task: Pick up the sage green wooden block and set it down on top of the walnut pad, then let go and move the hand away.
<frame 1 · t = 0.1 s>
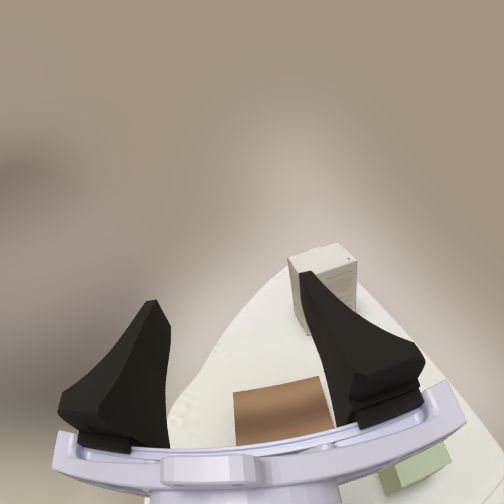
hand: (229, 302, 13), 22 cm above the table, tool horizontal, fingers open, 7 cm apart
walnut pad: (284, 431, 26), on the table
small box: (324, 316, 40), on the table
sage block: (401, 468, 18), on the table
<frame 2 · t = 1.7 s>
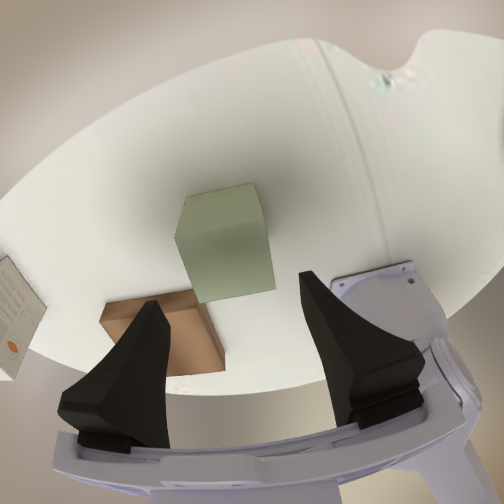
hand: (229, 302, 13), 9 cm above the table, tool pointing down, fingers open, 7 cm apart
walnut pad: (168, 327, 28), on the table
small box: (18, 287, 23), on the table
sage block: (227, 219, 21), on the table
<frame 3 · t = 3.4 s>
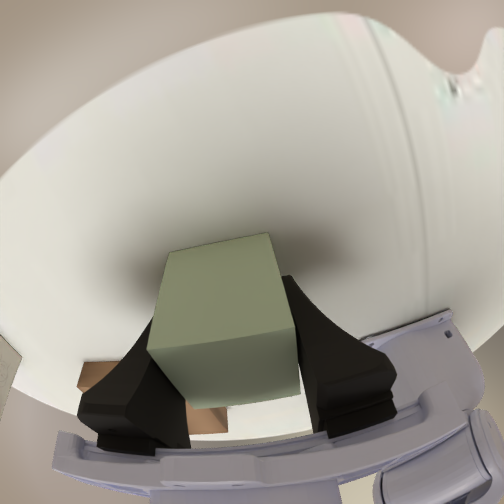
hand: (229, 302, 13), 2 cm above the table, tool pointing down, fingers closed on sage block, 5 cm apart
walnut pad: (159, 387, 21), on the table
sage block: (228, 281, 15), on the table, touching gripper
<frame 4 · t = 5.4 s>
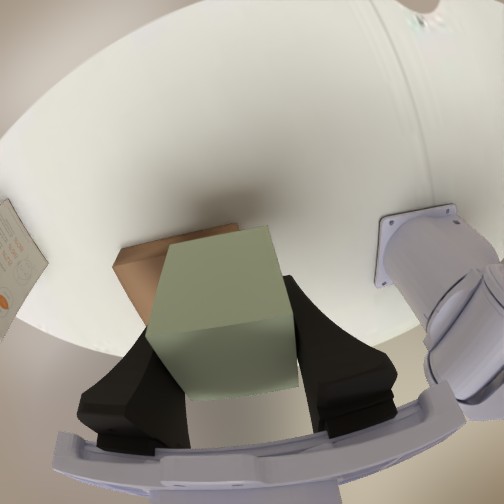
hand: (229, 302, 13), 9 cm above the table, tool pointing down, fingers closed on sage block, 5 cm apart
walnut pad: (193, 281, 24), on the table
small box: (16, 240, 20), on the table
sage block: (228, 274, 15), point 7 cm above the table, touching gripper
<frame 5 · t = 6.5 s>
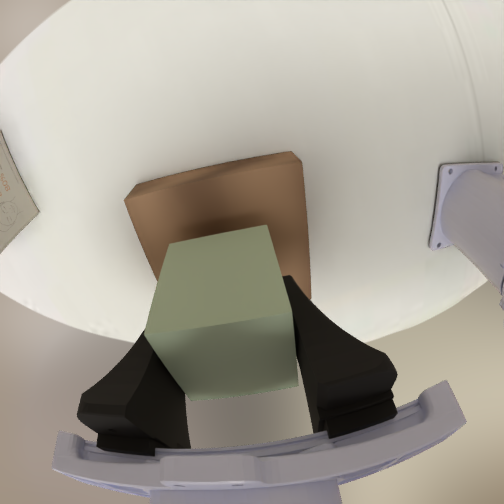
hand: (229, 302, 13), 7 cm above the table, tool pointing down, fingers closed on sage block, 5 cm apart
walnut pad: (227, 231, 19), on the table
small box: (3, 185, 14), on the table
sage block: (227, 274, 15), point 5 cm above the table, touching gripper
when the fingers open (6 cm above the table, at t = 7.6 s): sage block drops 1 cm, resting on walnut pad.
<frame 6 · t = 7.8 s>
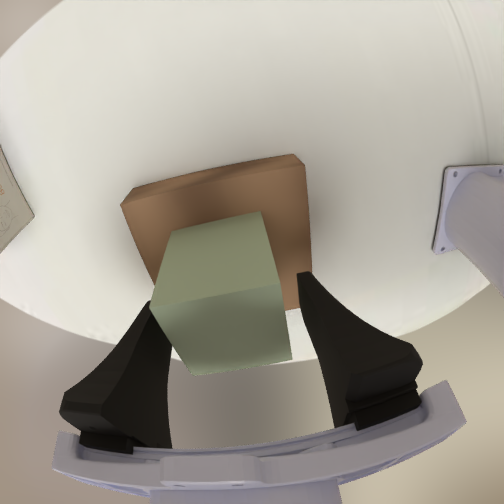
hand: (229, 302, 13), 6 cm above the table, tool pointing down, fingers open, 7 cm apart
walnut pad: (227, 236, 19), on the table, touching sage block
sage block: (225, 258, 16), point 2 cm above the table, touching walnut pad
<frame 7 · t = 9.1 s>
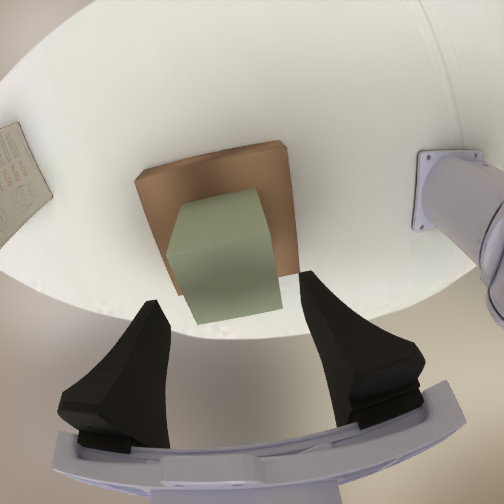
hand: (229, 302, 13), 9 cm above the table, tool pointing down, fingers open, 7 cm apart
walnut pad: (223, 212, 22), on the table, touching sage block
small box: (19, 173, 17), on the table
sage block: (226, 228, 19), point 2 cm above the table, touching walnut pad
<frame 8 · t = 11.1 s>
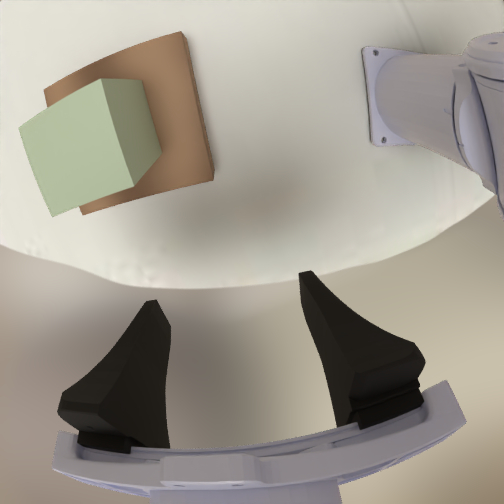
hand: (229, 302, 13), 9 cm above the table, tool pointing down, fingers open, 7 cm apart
walnut pad: (133, 122, 17), on the table, touching sage block
sage block: (115, 129, 14), point 2 cm above the table, touching walnut pad
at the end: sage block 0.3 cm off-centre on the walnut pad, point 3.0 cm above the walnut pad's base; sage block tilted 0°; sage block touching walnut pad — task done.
